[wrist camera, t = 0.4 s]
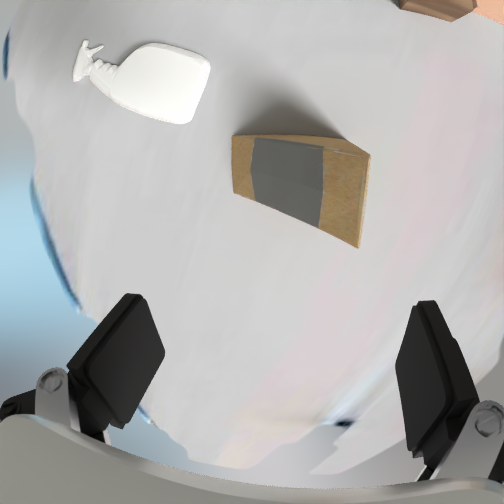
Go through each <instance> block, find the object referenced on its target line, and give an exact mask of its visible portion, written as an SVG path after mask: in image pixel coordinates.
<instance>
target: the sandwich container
mask: <svg viewBox="0 0 504 504" xmlns="http://www.w3.org/2000/svg"><path fill="white" fill-rule="evenodd" d="M370 159H371V157H370V154H368V153H367V152H365V151H364V150H362V149H360V148H359V147H357V146H356V145H354V144H352V143H351V142H349V141H347V140H345V139H337V138H328V137H318V136H307V135H233V136H232V178H233V191H234V193H235V194H238V195H241V196H243V197H246V198H248V199H251V200H254V201H256V202H259V203H261V204H264V205H266V206H269V207H271V208H273V209H276V210H278V211H280V212H282V213H285V214H287V215H289V216H291V217H294V218H296V219H298V220H301V221H303V222H305V223H307V224H310V225H312V226H314V227H316V228H318V229H320V230H323V231H325V232H327V233H329V234H331V235H333V236H335V237H337V238H339V239H341V240H343V241H344V242H346V243H348V244H350V245H352V246H354V247H356V248H359V247H360V240H361V233H362V226H363V218H364V210H365V202H366V195H367V187H368V178H369V169H370Z"/></svg>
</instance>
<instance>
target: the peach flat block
mask: <svg viewBox="0 0 504 504" xmlns="http://www.w3.org/2000/svg"><path fill="white" fill-rule="evenodd" d="M472 4H473V8H474V11H472V12H474V13H477V14H479V15H482V16H484V17H487V18H489V19H491V20H494V21H496V22H498V23H500V24H502V25H504V0H472Z"/></svg>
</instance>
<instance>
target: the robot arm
mask: <svg viewBox="0 0 504 504" xmlns="http://www.w3.org/2000/svg"><path fill="white" fill-rule="evenodd" d="M164 357H165V349H164V346H163V344H162V341H161V339H160V336H159V334H158V331H157V328H156V326H155V323H154V320H153V318H152V315H151V312H150V309H149V307H148V304H147V301H146V300H145V299H144V298H143V297H142V295H140V294H130V293H127V294H125V295H124V296H123V297H122V298H121V300H120V301H119V302H118V303H117V304H116V305H115V306H114V308H113V309H112V310H111V311H110V312H109V313H108V315H107V316H106V317H105V318H104V319H103V321H102V322H101V323H100V324H99V325H98V327H97V328H96V329H95V330H94V332H93V333H92V334H91V335H90V336H89V338H88V339H87V340H86V341H85V342H84V344H83V345H82V346H81V347H80V349H79V350H78V351H77V352H76V354H75V355H74V356H73V358H72V359H71V360H70V361H69V363H68V364H67V367H68V369H69V372H68V373H66V371H65V370H64V369H62V368H57V367H56V368H51V369H49V370H47V371H45V372H44V373H43V374H42V375H41V376H40V377H39V379H38V381H37V385H36V389H34V390H31V391H28V392H25V393H22V394H19V395H17V396H13V397H11V398H9V399H7V400H6V401H4V403H3V404H2V406H1V408H0V504H504V408H503V406H502V405H500V404H499V403H497V402H495V401H492V400H485V401H482V402H480V401H479V397H478V394H477V391H476V389H475V386H474V383H473V380H472V377H471V375H470V372H469V369H468V367H467V364H466V362H465V359H464V357H463V354H462V352H461V350H460V347H459V345H458V343H457V341H456V339H454V338H453V337H452V335H451V332H450V330H449V328H448V326H447V324H446V321H445V319H444V317H443V315H442V313H441V311H440V309H439V307H438V305H437V303H436V301H434V300H430V301H419V302H418V303H417V305H416V306H413V307H412V310H411V314H410V317H409V321H408V325H407V328H406V331H405V335H404V338H403V341H402V344H401V347H400V351H399V354H398V357H397V359H396V364H395V370H396V375H397V381H398V386H399V392H400V398H401V404H402V410H403V417H404V424H405V432H406V440H407V448H408V450H409V451H412V453H413V458H418V457H424V464H425V466H424V468H423V469H422V471H421V472H420V474H419V475H418V476H417V478H416V479H415V480H414V482H410V483H403V484H396V485H388V486H377V487H363V488H345V489H306V488H287V487H275V486H274V487H273V486H264V485H256V484H249V483H242V482H235V481H230V480H224V479H219V478H214V477H209V476H205V475H200V474H196V473H192V472H188V471H184V470H180V469H176V468H173V467H169V466H166V465H163V464H159V463H156V462H153V461H150V460H147V459H144V458H141V457H138V456H136V455H132V454H130V453H127V452H125V451H122V450H120V449H117V448H114V447H112V445H111V441H110V437H109V433H108V429H107V427H108V425H109V423H110V424H111V425H112V426H114V427H117V428H120V429H123V427H124V425H125V424H126V423H129V421H130V420H131V418H132V416H133V414H134V413H135V411H136V409H137V407H138V405H139V403H140V401H141V399H142V398H143V396H144V394H145V392H146V390H147V388H148V386H149V385H150V383H151V381H152V379H153V377H154V375H155V374H156V372H157V370H158V368H159V366H160V364H161V363H162V361H163V359H164Z"/></svg>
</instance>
